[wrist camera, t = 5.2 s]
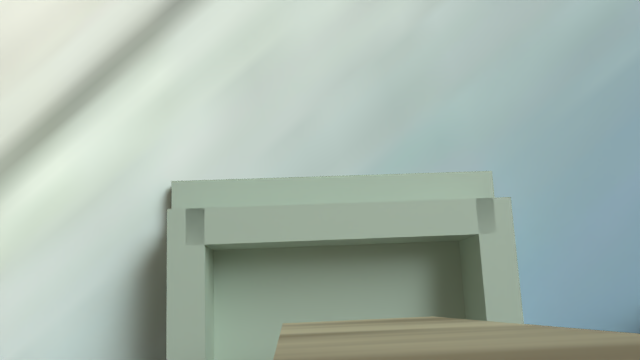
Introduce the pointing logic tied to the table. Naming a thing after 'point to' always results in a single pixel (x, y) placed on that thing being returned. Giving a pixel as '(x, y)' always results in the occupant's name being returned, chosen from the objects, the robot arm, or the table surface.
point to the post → (449, 341)
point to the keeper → (332, 256)
